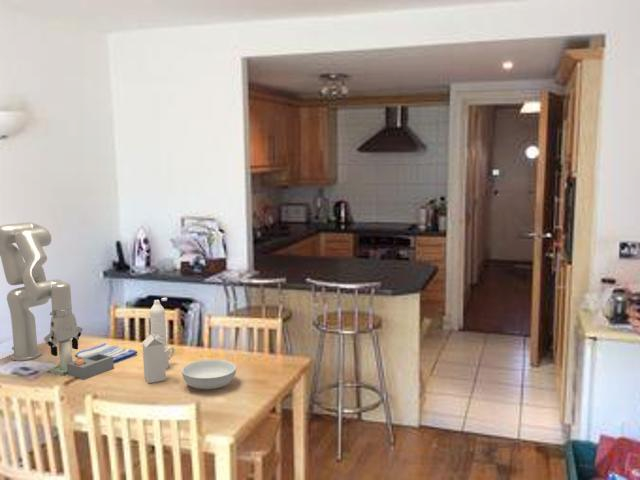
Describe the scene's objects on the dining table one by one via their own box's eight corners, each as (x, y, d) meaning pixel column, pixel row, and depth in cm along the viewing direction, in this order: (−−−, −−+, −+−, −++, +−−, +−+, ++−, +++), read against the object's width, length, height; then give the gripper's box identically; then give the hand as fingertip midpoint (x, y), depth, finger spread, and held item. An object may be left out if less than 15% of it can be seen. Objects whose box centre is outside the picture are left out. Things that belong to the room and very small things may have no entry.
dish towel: (105, 347, 284) (105, 341, 284) (139, 355, 271) (139, 349, 271) (73, 358, 270) (72, 352, 269) (107, 367, 257) (107, 361, 257)
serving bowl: (211, 399, 221) (211, 381, 220) (171, 388, 232) (170, 371, 231) (247, 381, 238) (247, 364, 237) (208, 371, 249) (207, 355, 248)
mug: (150, 374, 247) (149, 355, 246) (139, 367, 255) (138, 349, 254) (180, 366, 255) (179, 348, 254) (169, 360, 263) (168, 342, 262)
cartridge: (57, 369, 251) (55, 339, 249) (68, 365, 255) (65, 336, 254) (65, 371, 249) (62, 341, 247) (75, 367, 253) (73, 338, 251)
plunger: (74, 369, 246) (74, 360, 245) (81, 367, 248) (80, 358, 248) (79, 370, 244) (78, 361, 243) (85, 368, 247) (85, 359, 246)
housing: (67, 375, 247) (66, 363, 246) (98, 364, 260) (97, 353, 259) (83, 379, 242) (82, 367, 241) (113, 368, 254) (113, 356, 254)
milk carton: (148, 383, 236) (145, 337, 234) (144, 378, 243) (141, 332, 240) (166, 380, 240) (163, 334, 237) (162, 375, 246) (159, 330, 243)
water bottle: (158, 357, 267) (155, 302, 264) (149, 354, 271) (146, 300, 268) (173, 352, 274) (171, 298, 271) (164, 349, 278) (161, 296, 275)
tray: (50, 372, 251) (50, 368, 251) (69, 365, 258) (69, 361, 258) (63, 375, 246) (63, 372, 246) (82, 369, 254) (82, 365, 253)
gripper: (48, 318, 239) (51, 359, 242) (85, 309, 254) (88, 347, 256) (37, 316, 243) (40, 356, 246) (74, 306, 258) (77, 345, 260)
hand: (65, 352), depth 251 cm, fingers open, 9 cm apart
